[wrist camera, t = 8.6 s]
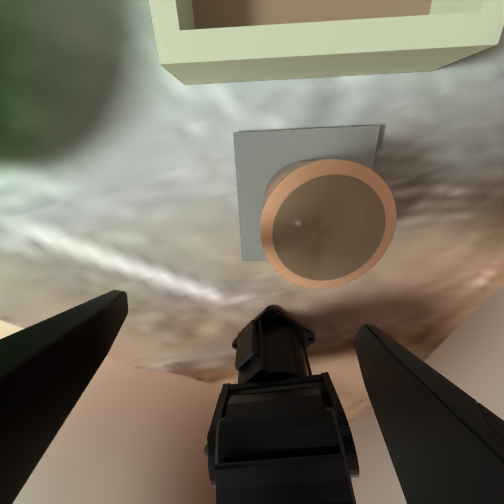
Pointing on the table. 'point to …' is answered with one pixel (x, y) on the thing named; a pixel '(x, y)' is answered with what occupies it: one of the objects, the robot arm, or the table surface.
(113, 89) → the table surface
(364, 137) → the slate pad
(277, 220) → the terracotta pot
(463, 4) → the pale green square tray
